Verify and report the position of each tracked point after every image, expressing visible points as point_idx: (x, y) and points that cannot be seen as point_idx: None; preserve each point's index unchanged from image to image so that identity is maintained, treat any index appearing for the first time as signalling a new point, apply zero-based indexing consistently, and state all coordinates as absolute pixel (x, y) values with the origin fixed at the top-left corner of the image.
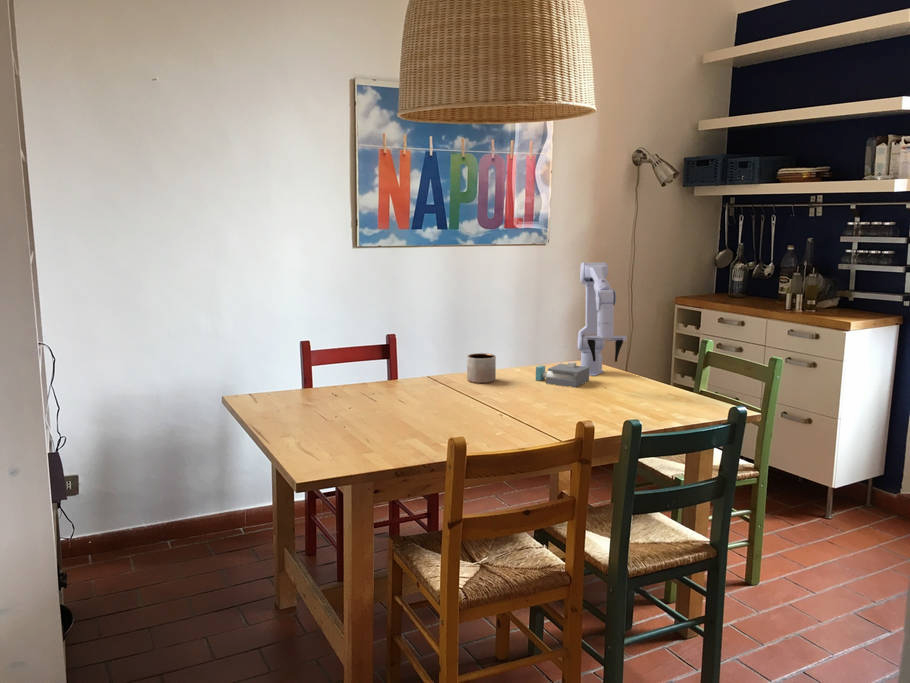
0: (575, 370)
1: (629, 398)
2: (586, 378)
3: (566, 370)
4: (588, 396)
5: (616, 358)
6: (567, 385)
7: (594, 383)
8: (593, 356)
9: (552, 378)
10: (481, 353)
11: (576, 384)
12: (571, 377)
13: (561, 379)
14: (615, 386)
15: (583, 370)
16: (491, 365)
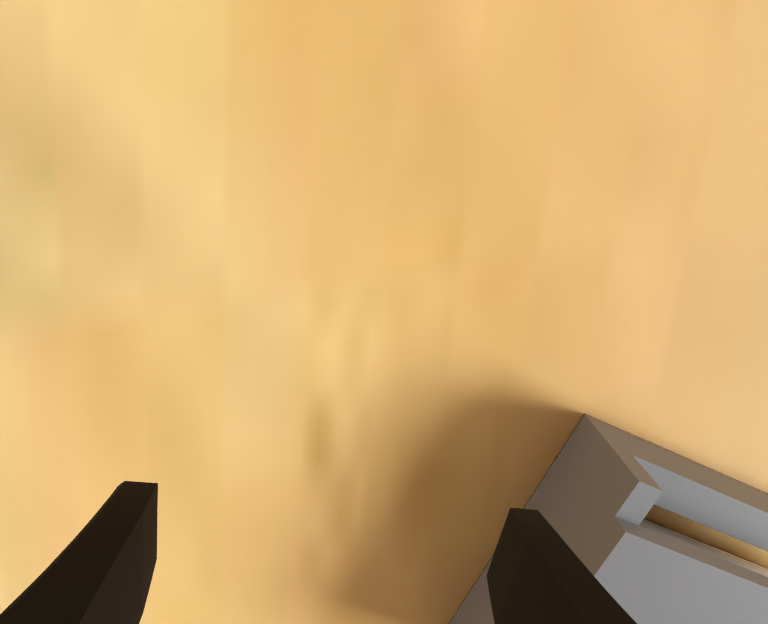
0: (632, 607)
1: (72, 12)
2: (474, 622)
3: (726, 593)
4: (516, 63)
5: (105, 515)
6: (653, 447)
7: (402, 573)
8: (569, 565)
9: None
10: None
11: (586, 440)
12: None
13: (730, 496)
14: (224, 501)
15: None
16: None
